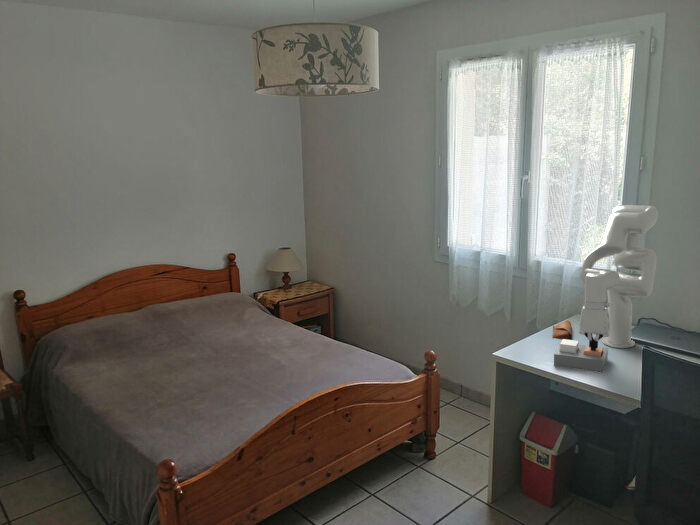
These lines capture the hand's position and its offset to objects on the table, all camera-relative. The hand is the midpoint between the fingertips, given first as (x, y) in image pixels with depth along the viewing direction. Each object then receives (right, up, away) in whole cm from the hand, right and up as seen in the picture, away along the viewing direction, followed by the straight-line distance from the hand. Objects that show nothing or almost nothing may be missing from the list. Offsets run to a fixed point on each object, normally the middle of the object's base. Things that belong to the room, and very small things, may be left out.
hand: (593, 349), depth 212 cm
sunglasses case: (+3, +1, +39) cm, 39 cm away
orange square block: (0, -3, +1) cm, 4 cm away
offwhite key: (-7, -1, +5) cm, 9 cm away
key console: (-3, -6, +4) cm, 8 cm away
